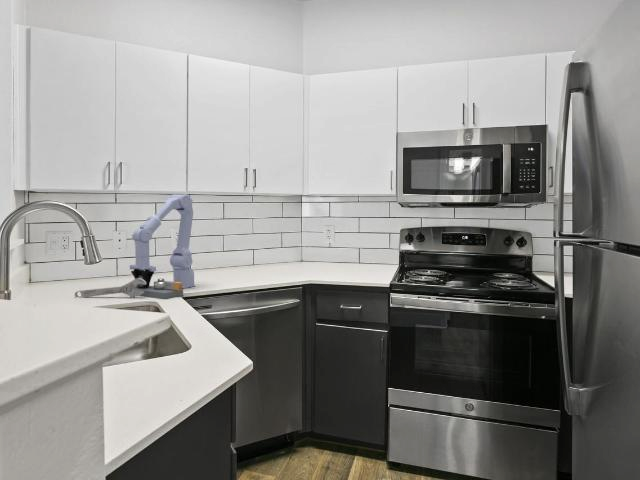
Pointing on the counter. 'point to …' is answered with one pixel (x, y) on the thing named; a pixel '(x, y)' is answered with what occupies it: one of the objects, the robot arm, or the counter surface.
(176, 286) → the silver elongated block
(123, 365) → the counter surface
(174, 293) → the pin board
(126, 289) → the wrench
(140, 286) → the steel pin
